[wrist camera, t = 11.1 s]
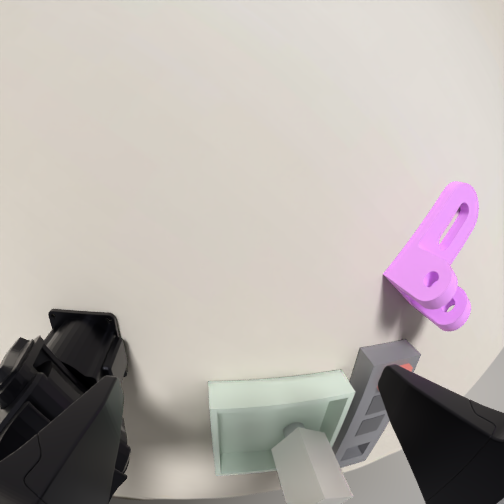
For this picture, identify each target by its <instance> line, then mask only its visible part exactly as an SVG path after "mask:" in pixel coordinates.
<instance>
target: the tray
mask: <svg viewBox="0 0 504 504" xmlns="http://www.w3.org/2000/svg"><path fill="white" fill-rule="evenodd" d="M208 391H209V409H210V422H211V433H212V444H213V455H214V464H215V474H216V476H223V475H240V474H252V473H261V472H270V471H277V469H276V466H275V462H274V458H273V455H272V451H271V449H272V448H273V447H274V446H276V445H277V444H278V443H279V442H281V441H282V440H283V439H284V438H285V435H284V432H283V429H284V428H285V427H286V426H287V425H289V424H291V423H294V422H301V423H303V424H304V427H305V429H310V430H314V431H319V432H324V433H325V434H326V437H327V439H328V441H329V443H330V446H331V448H332V446H333V444H334V442H335V440H336V438H337V436H338V433H339V431H340V429H341V426H342V424H343V422H344V419H345V417H346V415H347V412H348V410H349V407H350V405H351V402H352V400H353V397H354V395H355V390H354V389H353V387H352V386H351V384H350V382H349V381H348V379H347V378H346V376H345V374H344V373H343V371H342V370H341V369H340V370H334V371H328V372H321V373H314V374H306V375H298V376H289V377H279V378H268V379H254V380H237V381H208Z"/></svg>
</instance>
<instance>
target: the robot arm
mask: <svg viewBox="0 0 504 504" xmlns="http://www.w3.org/2000/svg"><path fill="white" fill-rule="evenodd" d="M53 314H54V315H55V316H54V315H53ZM108 318H110V319H111V320H112V321H109V320H108ZM49 319H50V322H51V326H52V331H51V332H50V333H49V335H48V336H47V337H46V339H45V340H43V339H42V338H41V336H38V337H37V338H36V339H34V340H33V339H32V340H31V341H30V340H26V339H23V338H21V337H20V338H19V339H18V340H17V341H16V342H15V343H14V345H13V346H12V347H11V348H10V350H9V351H8V352H7V354H6V355H5V357H4V358H3V360H2V362H1V364H0V504H109V502H110V499H111V497H112V496H113V494H114V493H115V491H116V490H117V488H118V487H119V486H120V485H121V484H122V483H123V482H124V481H125V480H126V479H127V475H125V474H124V473H125V471H126V469H127V466H128V463H129V458H130V453H131V449H130V447H129V446H128V445H127V436H126V432H125V426H124V419H123V418H122V413H123V404H124V395H123V391H122V388H121V383H122V380H123V377H125V376H126V375H127V372H128V370H127V363H128V360H127V356H126V351H125V347H124V342H123V339H122V338H121V337H120V336H119V331H118V326H117V321H116V317H115V316H114V315H113V314H112V313H104V312H88V311H74V310H61V309H52V310H50V312H49ZM378 389H379V392H380V395H381V398H382V400H383V403H384V406H385V409H386V412H387V415H388V418H389V420H390V422H391V425H392V427H393V429H394V431H395V433H396V436H397V438H398V440H399V442H400V444H401V446H402V449H403V451H404V453H405V455H406V457H407V460H408V462H409V464H410V466H411V469H412V471H413V473H414V476H415V478H416V480H417V483H418V485H419V488H420V490H421V493H422V495H423V498H424V500H425V503H426V504H504V413H502V412H499V411H496V410H494V409H491V408H488V407H485V406H483V405H480V404H479V403H476V402H474V401H472V400H469V399H467V398H465V397H463V396H461V395H459V394H457V393H454V392H452V391H450V390H448V389H446V388H444V387H442V386H440V385H438V384H435V383H433V382H431V381H429V380H427V379H425V378H423V377H421V376H419V375H417V374H415V373H413V372H411V371H409V370H407V369H405V368H403V367H401V366H399V365H397V364H392V365H387V366H385V367H384V369H383V372H382V374H381V376H380V379H379V381H378Z"/></svg>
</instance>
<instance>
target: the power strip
mask: <svg viewBox="0 0 504 504" xmlns="http://www.w3.org/2000/svg"><path fill="white" fill-rule="evenodd" d="M420 356H421V354H420V353H419V352H418V351H417V350H416V349H415V348H414V347H413V346H412V345H411V344H410V343H409V342H408V341H407V340H406V339H404V340H399V341H394V342H389V343H384V344H379V345H373V346H367V347H361V348H360V350H359V353H358V356H357V360H356V363H355V366H354V369H353V372H352V375H351V378H350V381H349V382H350V384H351V386H352V387H353V389H354V390H355V395H354V397H353V400H352V402H351V405H350V407H349V410H348V412H347V415H346V417H345V419H344V422H343V424H342V426H341V429H340V431H339V433H338V436H337V438H336V440H335V442H334V444H333V446H332V450H333V452H334V454H335V457H336V459H337V461H338V463H339V466H340V468H342V467H345V466H349V465H352V464H355V463H359V462H362V461H365V460H366V458H367V457H368V455H369V454H370V452H371V451H372V449H373V448H374V446H375V444H376V443H377V441H378V439H379V438H380V436H381V434H382V433H383V431H384V429H385V428H386V426H387V424H388V422H389V421H390V420H389V418H388V415H387V412H386V409H385V406H384V403H383V400H382V398H381V395H380V392H379V389H378V381H379V379H380V376H381V374H382V372H383V369H384V367H385V366H387V365H392V364H397V365H399V366H401V367H403V368H405V369H407V370H409V371H411V372H414V370H415V368H416V365H417V363H418V361H419V358H420Z"/></svg>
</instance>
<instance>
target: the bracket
mask: <svg viewBox="0 0 504 504" xmlns="http://www.w3.org/2000/svg"><path fill="white" fill-rule="evenodd" d="M459 207H460V213H459V215H458V217H457V219H456V220H455V222H454V223H453V225H452V227H451V228H450V230H449V231H448V233H447V234H446V236H445V237H444V239H443V240H442V242H441V243H440V244H439V239H440V237H441V235H442V233H443V232H444V230H445V229H446V227H447V226H448V224H449V223H450V221H451V220H452V218H453V216H454V215H455V213H456V212H457V210H458V208H459ZM478 210H479V205H478V198H477V194H476V192H475V190H474V188H473V187H472V186H471V185H469V184H467V183H462V182H456V181H455V182H451V183H450V184H448V185H447V186H446V187H445V189H444V190H443V192H442V193H441V195H440V196H439V198H438V200H437V201H436V203H435V204H434V206H433V207H432V209H431V210H430V212H429V213H428V214H427V216H426V217H425V219H424V220H423V222H422V223H421V224H420V226H419V227H418V229H417V230H416V231H415V233H414V234H413V236H412V237H411V238H410V240H409V241H408V242H407V244H406V245H405V246H404V248H403V249H402V250H401V252H400V253H399V254H398V256H397V257H396V258H395V259H394V261H393V262H392V263H391V265H390V266H389V267H388V268H387V270H386V271H385V272H384V273H383V275H384V276H385V277H386V278H387V279H388V280H389V281H390V282H391V284H392V285H393V286H394V287H395V288H396V289H397V290H398V291H399V292H400V293H401V295H402V296H403V297H404V298H405V299H406V300H407V301H408V302H409V304H410V305H412V306H413V307H414V308H416V309H417V310H418V311H419V312H421V313H422V314H423V315H424V316H426V317H427V318H428V319H429V320H431V321H432V322H433V323H434V324H435V325H437V326H438V327H439V328H440V329H442V330H444V331H454V330H456V329H458V328H460V327H461V326H462V325H464V323H465V322H466V321H467V319H468V317H469V315H470V311H471V304H470V301H469V299H468V297H467V295H466V293H465V292H464V290H463V289H462V288H460V287H459V286H457V284H458V282H457V277H456V275H455V273H454V271H453V270H452V268H451V266H450V265H451V264H452V262H453V261H454V259H455V258H456V256H457V255H458V253H459V251H460V250H461V248H462V247H463V245H464V244H465V242H466V240H467V239H468V237H469V235H470V234H471V232H472V230H473V229H474V227H475V224H476V221H477V218H478ZM452 305H455V306H454V308H453V309H452V310H451V311H450V312H447V310H448V308H449V307H450V306H452Z"/></svg>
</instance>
